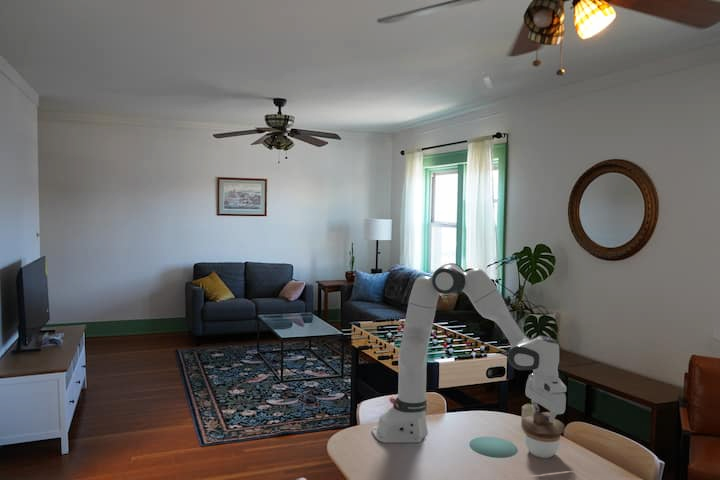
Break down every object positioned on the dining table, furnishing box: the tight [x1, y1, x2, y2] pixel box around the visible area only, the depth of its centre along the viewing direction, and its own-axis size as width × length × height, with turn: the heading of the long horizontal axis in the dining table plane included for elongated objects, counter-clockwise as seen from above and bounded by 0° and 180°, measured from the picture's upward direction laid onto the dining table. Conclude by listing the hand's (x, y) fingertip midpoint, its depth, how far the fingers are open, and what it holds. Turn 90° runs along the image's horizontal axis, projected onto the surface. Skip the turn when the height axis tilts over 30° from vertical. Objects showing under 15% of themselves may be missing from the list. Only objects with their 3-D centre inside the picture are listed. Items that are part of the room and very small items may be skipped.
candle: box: [520, 403, 535, 429], centre depth 233 cm, size 6×6×10 cm
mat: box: [469, 436, 519, 459], centre depth 213 cm, size 18×18×1 cm
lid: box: [522, 411, 565, 435], centre depth 208 cm, size 15×15×4 cm
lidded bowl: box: [524, 428, 562, 459], centre depth 209 cm, size 13×13×11 cm
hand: (543, 416), depth 208 cm, fingers open, 8 cm apart
